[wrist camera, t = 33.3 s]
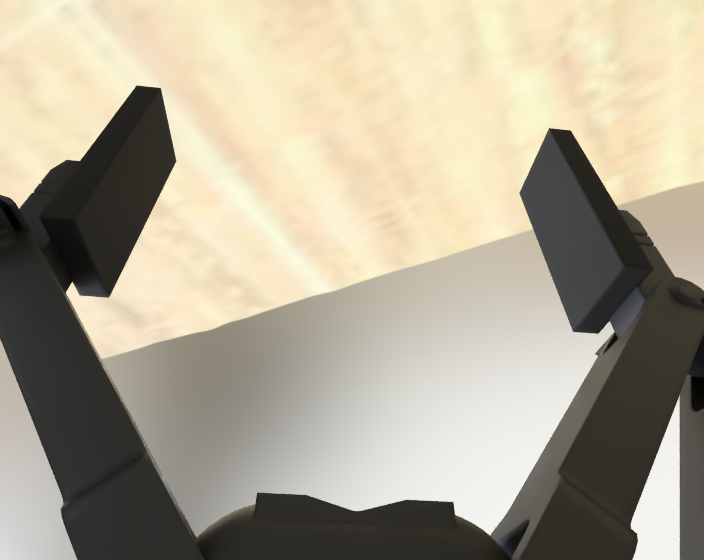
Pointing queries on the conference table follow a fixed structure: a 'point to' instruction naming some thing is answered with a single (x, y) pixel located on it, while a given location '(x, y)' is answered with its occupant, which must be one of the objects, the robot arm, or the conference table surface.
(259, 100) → the conference table surface
